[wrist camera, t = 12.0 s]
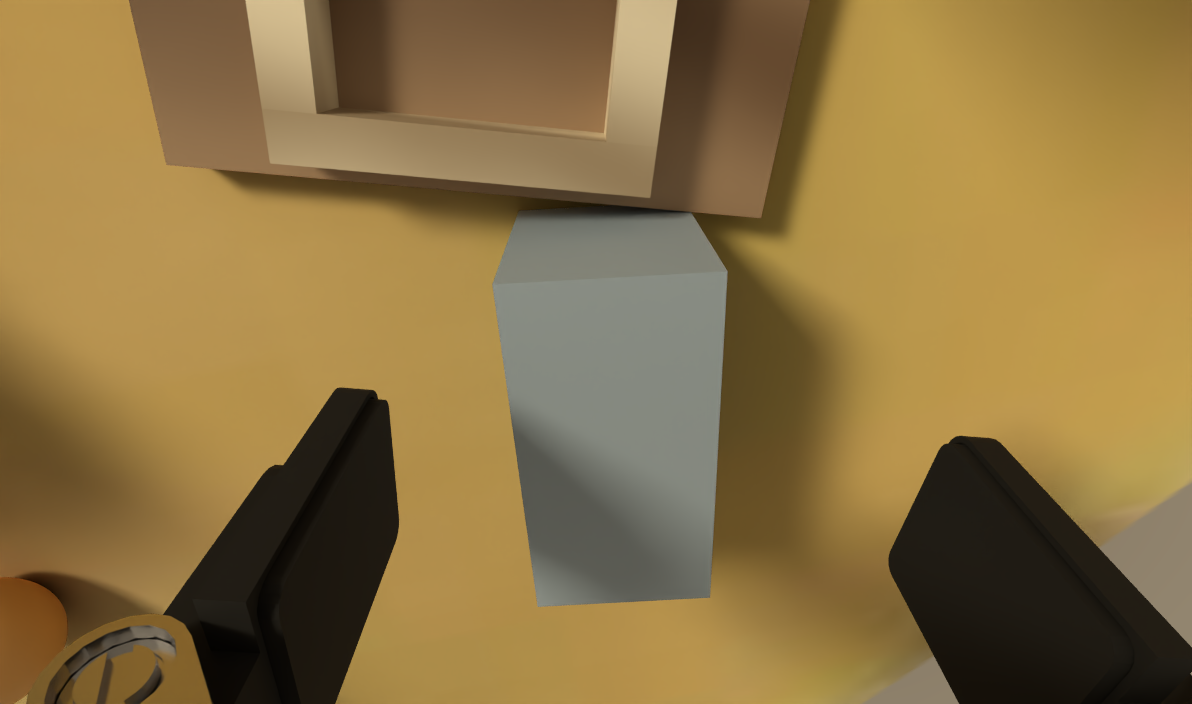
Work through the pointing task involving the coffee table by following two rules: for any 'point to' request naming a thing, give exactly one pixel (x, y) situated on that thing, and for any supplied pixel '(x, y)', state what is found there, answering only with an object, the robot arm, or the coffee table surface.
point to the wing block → (614, 398)
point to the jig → (482, 94)
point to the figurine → (27, 635)
